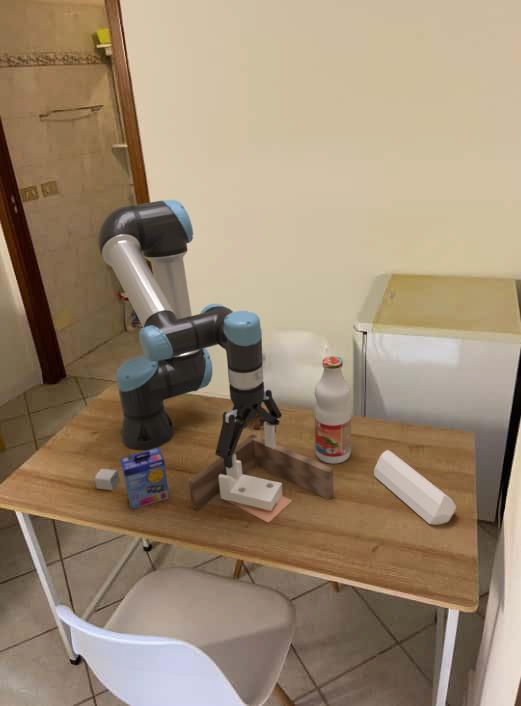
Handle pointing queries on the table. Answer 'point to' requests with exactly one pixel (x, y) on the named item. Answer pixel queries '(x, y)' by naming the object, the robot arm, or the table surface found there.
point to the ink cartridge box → (145, 478)
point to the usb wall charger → (106, 479)
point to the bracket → (250, 490)
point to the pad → (263, 513)
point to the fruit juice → (332, 414)
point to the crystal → (414, 489)
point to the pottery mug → (258, 422)
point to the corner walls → (269, 459)
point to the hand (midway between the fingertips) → (252, 461)
